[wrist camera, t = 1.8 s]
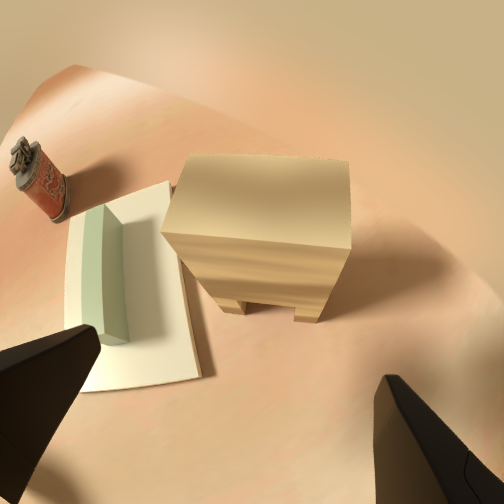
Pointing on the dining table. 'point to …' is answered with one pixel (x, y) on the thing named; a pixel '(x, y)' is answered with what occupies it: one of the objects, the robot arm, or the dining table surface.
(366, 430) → the dining table surface
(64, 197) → the lighter
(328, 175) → the birch slotted block
